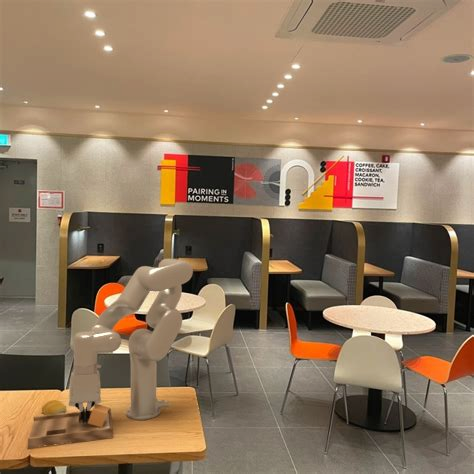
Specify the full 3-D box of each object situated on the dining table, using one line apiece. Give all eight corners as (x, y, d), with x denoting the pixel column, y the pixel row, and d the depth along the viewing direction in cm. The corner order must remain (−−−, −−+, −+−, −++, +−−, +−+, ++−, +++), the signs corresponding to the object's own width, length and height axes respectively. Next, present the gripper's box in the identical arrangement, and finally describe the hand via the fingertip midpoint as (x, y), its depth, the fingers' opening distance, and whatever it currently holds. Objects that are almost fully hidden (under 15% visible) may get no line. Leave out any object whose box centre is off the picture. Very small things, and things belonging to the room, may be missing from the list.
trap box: (110, 416, 172) (110, 408, 172) (112, 437, 156) (112, 428, 156) (33, 425, 165) (33, 416, 164) (27, 448, 148) (27, 438, 148)
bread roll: (47, 419, 170) (47, 408, 170) (39, 411, 177) (39, 401, 177) (70, 413, 175) (70, 402, 175) (61, 405, 182) (61, 395, 182)
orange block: (104, 421, 164) (109, 407, 164) (101, 427, 159) (106, 413, 159) (90, 416, 164) (95, 403, 164) (87, 423, 159) (92, 409, 159)
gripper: (107, 363, 166) (107, 414, 167) (62, 366, 162) (62, 419, 163) (108, 370, 159) (107, 423, 160) (61, 374, 155) (61, 428, 156)
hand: (85, 420), depth 161 cm, fingers closed
